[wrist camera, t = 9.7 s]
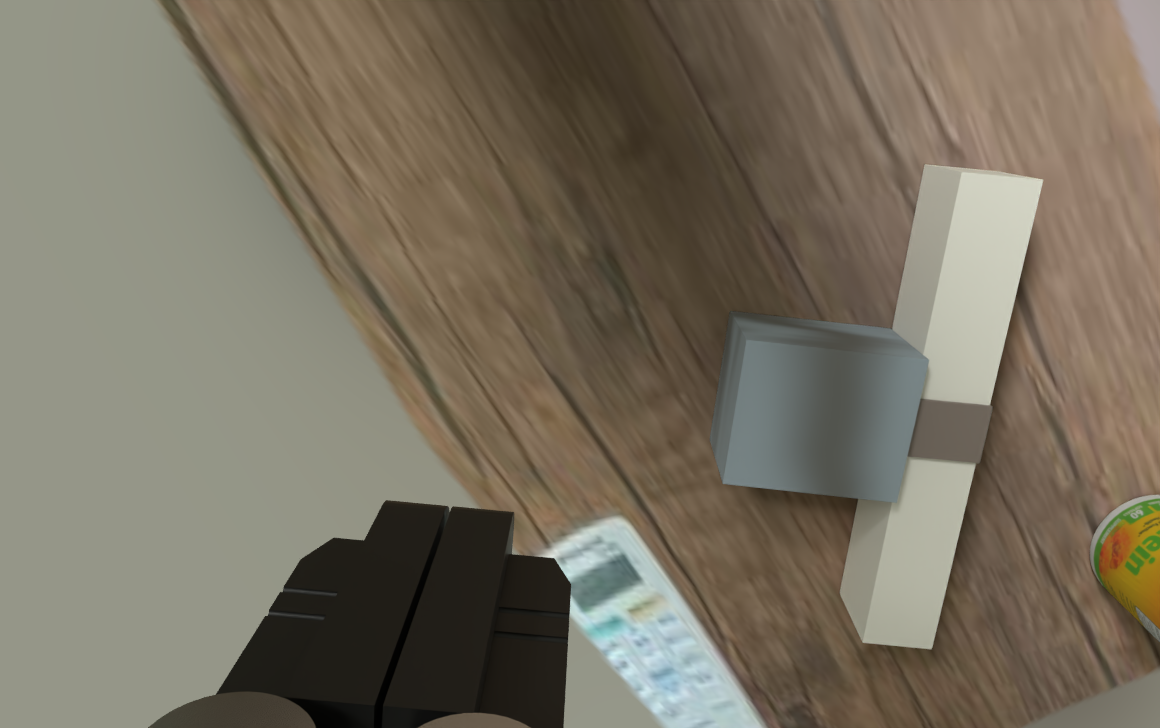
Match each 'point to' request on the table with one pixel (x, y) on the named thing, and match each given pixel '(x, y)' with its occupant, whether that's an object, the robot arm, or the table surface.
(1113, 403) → the table surface
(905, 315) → the cream rectangular bar
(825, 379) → the block
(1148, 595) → the supplement bottle
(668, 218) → the table surface
